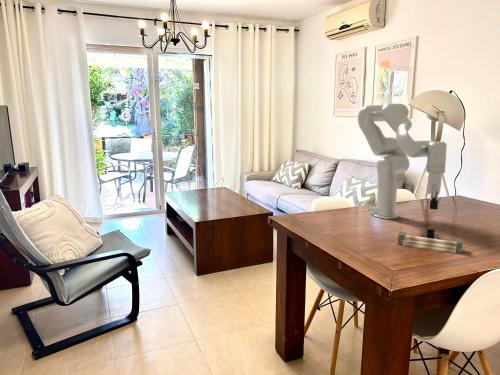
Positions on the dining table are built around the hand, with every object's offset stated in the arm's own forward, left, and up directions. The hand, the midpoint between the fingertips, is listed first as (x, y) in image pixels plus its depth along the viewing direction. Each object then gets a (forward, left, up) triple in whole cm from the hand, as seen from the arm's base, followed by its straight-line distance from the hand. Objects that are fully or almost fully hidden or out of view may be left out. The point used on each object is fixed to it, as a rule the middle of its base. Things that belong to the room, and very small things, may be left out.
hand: (433, 208), depth 172 cm
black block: (0, -13, -11) cm, 16 cm away
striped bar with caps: (0, -26, -10) cm, 28 cm away
